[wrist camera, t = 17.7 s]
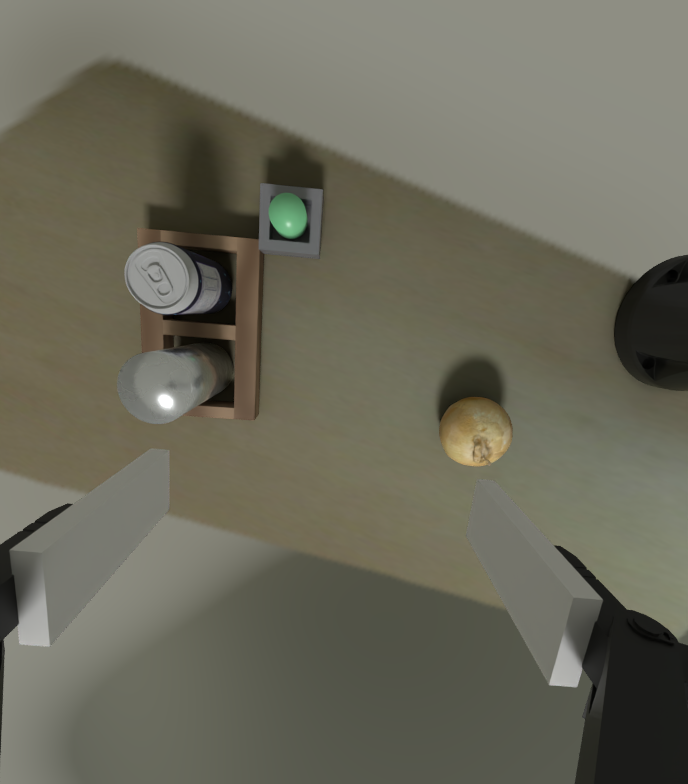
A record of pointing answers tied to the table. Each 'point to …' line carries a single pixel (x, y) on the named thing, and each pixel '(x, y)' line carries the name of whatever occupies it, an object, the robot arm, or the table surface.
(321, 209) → the button housing
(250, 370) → the glass rack
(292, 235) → the button
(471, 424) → the onion
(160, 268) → the beverage can
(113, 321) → the table surface
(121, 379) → the frosted drinking glass
